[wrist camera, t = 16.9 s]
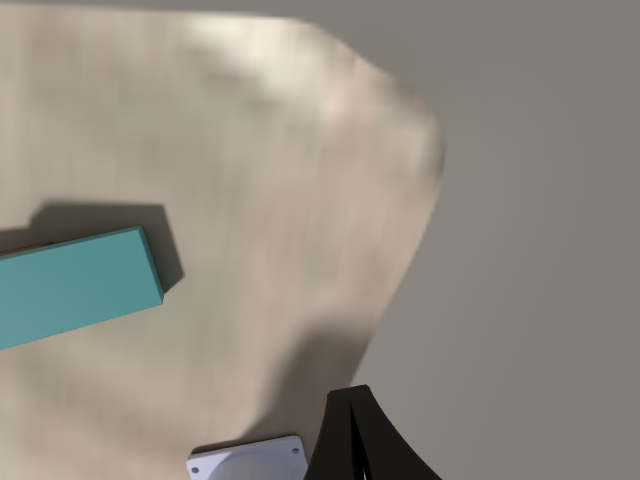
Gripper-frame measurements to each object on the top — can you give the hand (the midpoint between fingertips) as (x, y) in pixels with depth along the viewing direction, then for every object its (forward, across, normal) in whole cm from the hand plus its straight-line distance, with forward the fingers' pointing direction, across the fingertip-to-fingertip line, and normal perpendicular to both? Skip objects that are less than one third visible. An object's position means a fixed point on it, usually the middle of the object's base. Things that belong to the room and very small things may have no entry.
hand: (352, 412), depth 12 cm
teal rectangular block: (+10, +10, -4) cm, 14 cm away
